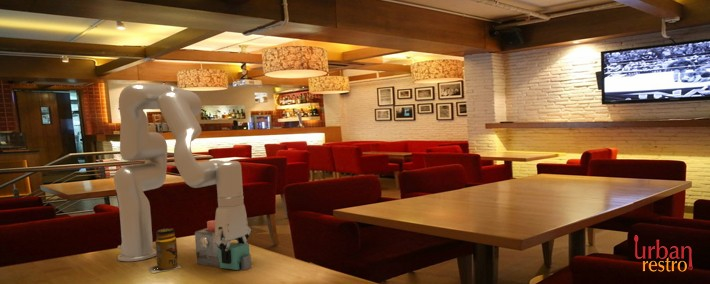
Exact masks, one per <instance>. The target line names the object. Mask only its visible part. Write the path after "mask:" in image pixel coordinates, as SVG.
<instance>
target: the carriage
mask: <svg viewBox="0 0 710 284" xmlns="http://www.w3.org/2000/svg"><path fill="white" fill-rule="evenodd" d="M225 246H226V244H225ZM229 250H230V251H231V263H230V264H226V263H222V256H221V250H219V248H218V255H219V256H218V257H219V262H220V267H219V268H221V269H228V270H235V271H238V270H239V262H241V257H242V256H244V255H247V254H250V244H249V243H247V244H244V243H238V242H233V241H232V242H231V241H230V246H229Z"/></svg>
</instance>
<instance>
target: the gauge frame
mask: <svg viewBox="0 0 710 284" xmlns="http://www.w3.org/2000/svg"><path fill="white" fill-rule="evenodd" d="M194 238H195V253H196V254H195V255H196V256H197V251H200V250H203V249H206V250H207V256H215V257H219V255H218V247H217V245H215V244H214V243H213V240H214V238H215V231H213V232H210V231H208V229H207V227H206V228H203V229H199V230H196V231H194ZM220 241H221V240H220ZM225 244H226V242H225V243H224V245H225Z"/></svg>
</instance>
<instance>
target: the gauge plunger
mask: <svg viewBox="0 0 710 284" xmlns="http://www.w3.org/2000/svg"><path fill="white" fill-rule="evenodd" d="M206 226H207V227H206V228H207V229H208V231H210V232H213V231H215V219H214V220H208V221H206Z"/></svg>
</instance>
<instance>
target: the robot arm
mask: <svg viewBox="0 0 710 284" xmlns="http://www.w3.org/2000/svg"><path fill="white" fill-rule="evenodd" d="M119 93H120V94H119V97H118V110H119V116H120V129H119V130H120V132H119V135H120V136H119V153H120V156H121V158H122V159H123V160H124V161H128V162H139V161H144V163H136V164H135V163H134V164H129V165H124V166H121V167H120V168H118V169H117V170H116V172H115V173H114V175H113V183H114V184H113V185H114V187H115V192H116V194H117V199H118V200H117V201H118V207H119V208H118V209H119V220H120V234H121V235H120V237H121V245H118V246H117V250H120V251H121V253H119V254H118V255H117V260H118V261H120V262H137V261H138V262H139V261H143V260H144V261H145V260H148V259H151V258H154V257H157V254H156V248H154V244H153V241H154V240H153V231H152V214H151V205H150V200H149V199H148V197H147V196H146V195H145V193H144V192H146V191H151V190H155V189H159V188H160V187H162V186H163V185H164V184H165V181H166V178H167V170H168V169H167V168H168V167H167V166H168V165H167V164H168V145H167V141H166V138H165V137H164V136H163V135H162V134H161V133H159V132H155V131H152V132H151V131H150V132H149V119H148V116H147V114H146V113H145V111H144V110H159V111H160V113H161V115H162V117H163V118H164V121H165V122H166V124H167V126H168V127H169V129H170V132H171V133H172V136H173V137H174V139H175V143H174V149H173V160H174V164H175V166H176V169H177V170H178V172H179V175H180V177H181V178H182V180H183V181H184V183H185V184H186V185H188V186H189V187H191V188H195V189H197V188H202V187H203V188H204V187H208V186H213V185H216V191H217V192H216V193H217V204H218V205H217V206H218V207H216V210H215V215H214V216H215V218H214V220H215V238H214V240H213V243H214V244H215V245H217V247H218V248H219V250H221V256H222V263H226V264H230V263H231V251H230V250H229V246H230V243H231V241H234V240H237V243H244V244H248V239H249V237H250V234H251V231H252V229H251V228H250V226H249V223H248V217H247V211H246V206H245V203H244V197H245V196H244V191H243V190H244V188H243V172H242V164H241V162H239V161H237V160H226V161H224V160H218V159H217V160H215V159H214V160H204V161H199V162H198V161H197V159H196V158H195V155H194V154H193V151H192V147H191V143H192V141H195V140H196V139H197V138H198V137H199V136H200V135H201V133H202V126H201V125H200V123H199V121H198V120H197V118H196V116H198V115H199V114H200V113H201V111H202V107H203V106H202V105H203V104H202V100H201V98H200V97H199V96H198V94H196V93H195V92H193V91H191V90H187V89H184V88H181V87H177V86H173V85H169V84H162V83H161V84H159V83H146V82H145V83H139V82H138V83H132V84H128V85H126V86H125V87H124V88H123V89H122V90H121V92H119ZM220 240H221V241H220ZM225 242H226V246H225V245H224V243H225Z"/></svg>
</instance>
